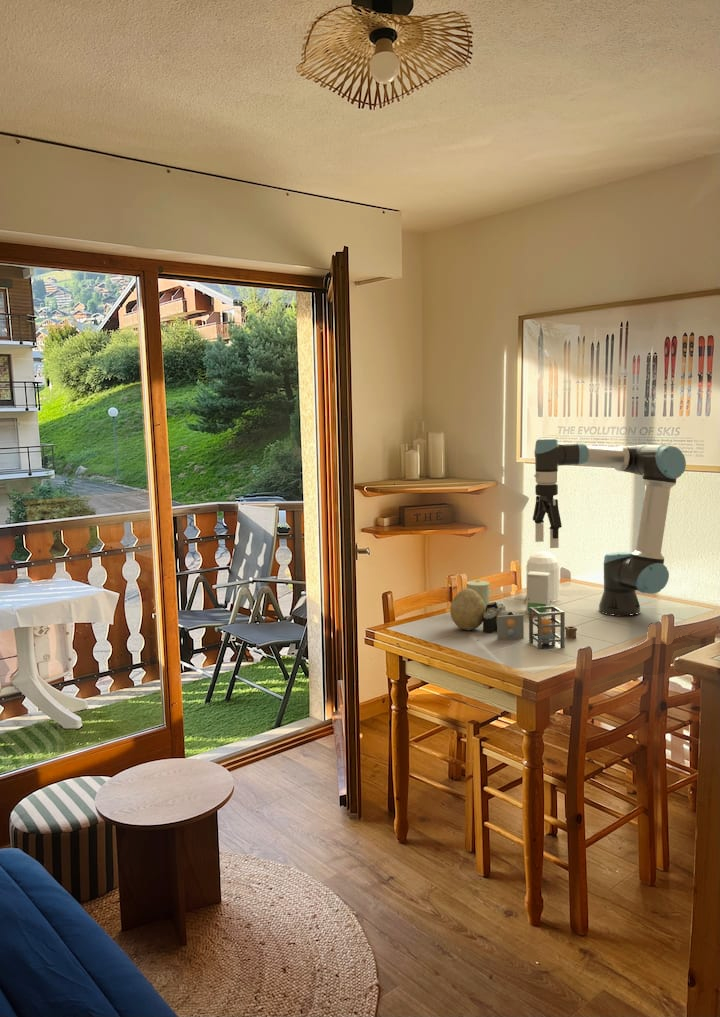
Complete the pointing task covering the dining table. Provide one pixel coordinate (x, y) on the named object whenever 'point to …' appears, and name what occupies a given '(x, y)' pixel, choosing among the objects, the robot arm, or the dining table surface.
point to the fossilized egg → (467, 609)
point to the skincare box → (538, 590)
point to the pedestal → (571, 632)
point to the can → (481, 589)
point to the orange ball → (546, 622)
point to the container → (546, 570)
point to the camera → (493, 616)
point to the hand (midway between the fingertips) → (546, 544)
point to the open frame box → (561, 624)
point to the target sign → (510, 627)
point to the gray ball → (547, 636)
